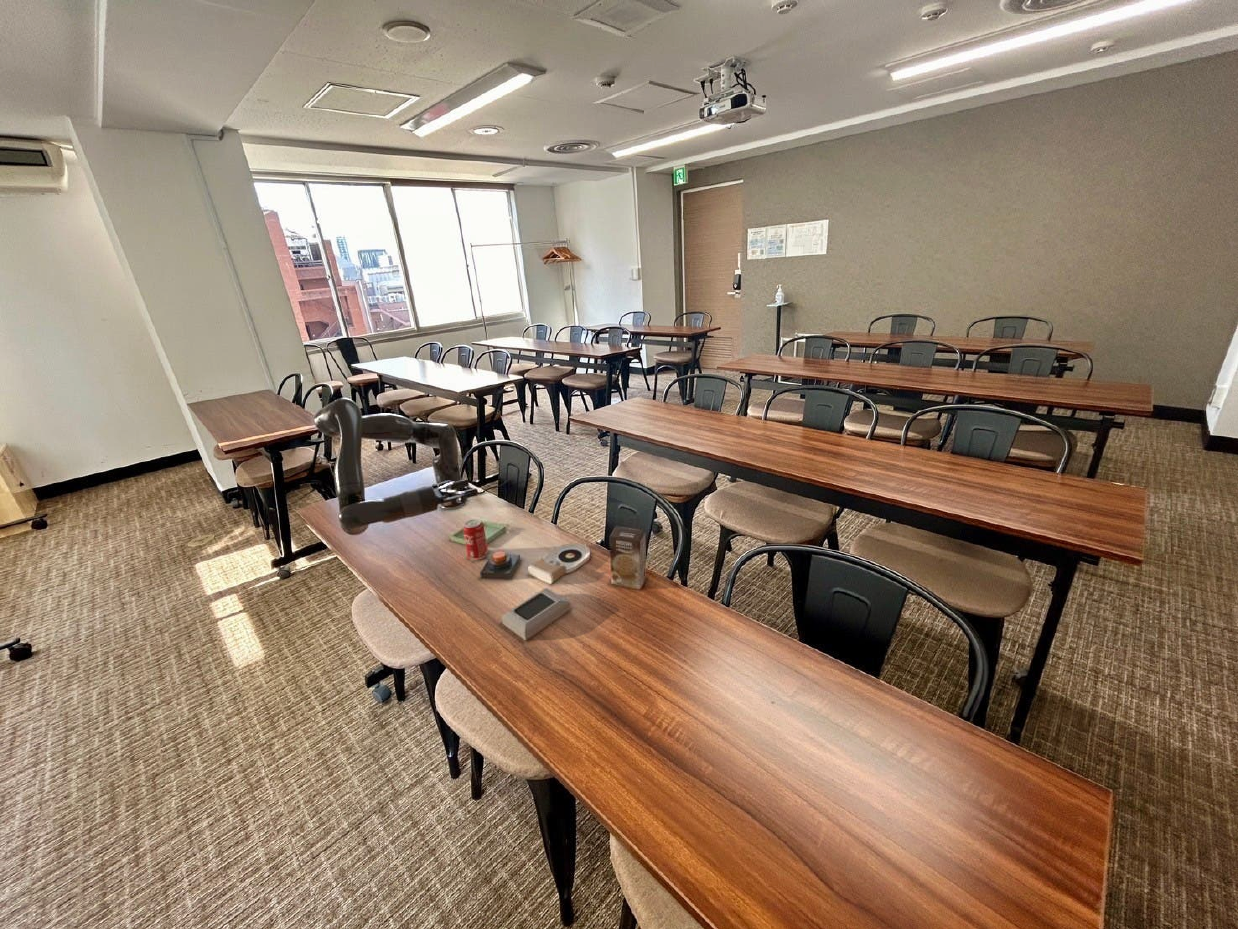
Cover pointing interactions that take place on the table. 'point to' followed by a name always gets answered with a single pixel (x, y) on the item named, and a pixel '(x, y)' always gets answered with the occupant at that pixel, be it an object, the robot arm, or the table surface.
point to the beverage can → (475, 539)
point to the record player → (560, 562)
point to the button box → (500, 567)
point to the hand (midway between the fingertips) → (472, 486)
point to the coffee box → (628, 556)
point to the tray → (489, 528)
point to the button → (499, 557)
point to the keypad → (535, 613)
